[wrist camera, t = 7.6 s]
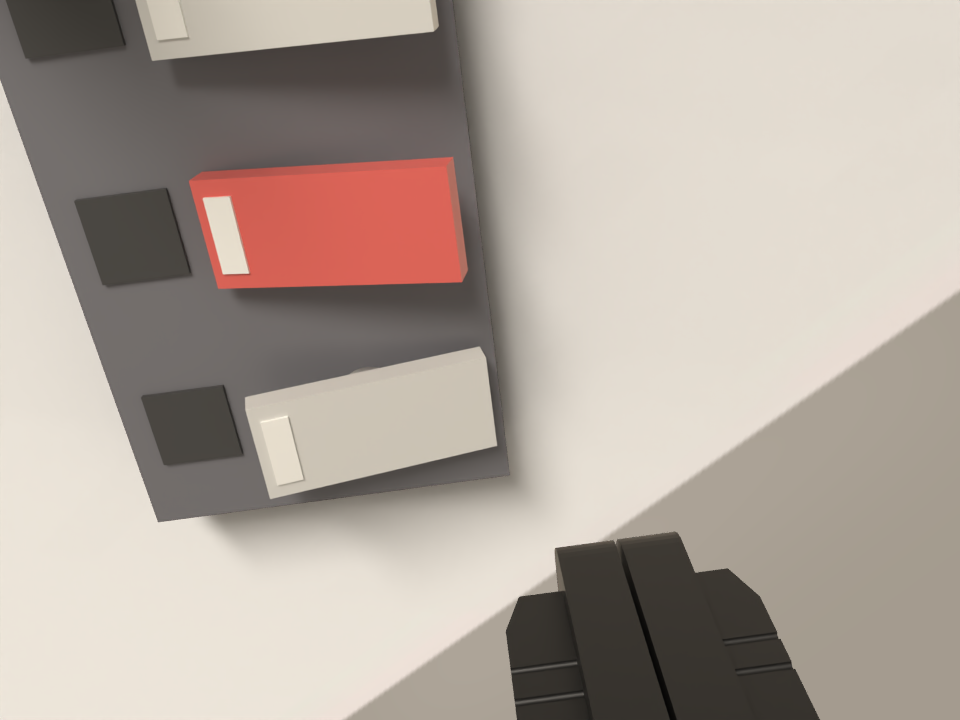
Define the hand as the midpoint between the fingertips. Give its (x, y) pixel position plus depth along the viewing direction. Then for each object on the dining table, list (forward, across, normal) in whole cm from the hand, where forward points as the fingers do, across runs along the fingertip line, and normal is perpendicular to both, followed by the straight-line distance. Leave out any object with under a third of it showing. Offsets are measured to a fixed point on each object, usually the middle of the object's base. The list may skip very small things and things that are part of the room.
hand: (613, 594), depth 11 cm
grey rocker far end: (+22, +6, +10) cm, 25 cm away
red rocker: (+22, +6, +2) cm, 23 cm away
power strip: (+27, +8, +2) cm, 28 cm away
